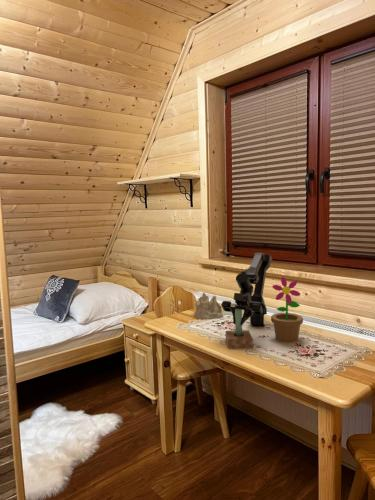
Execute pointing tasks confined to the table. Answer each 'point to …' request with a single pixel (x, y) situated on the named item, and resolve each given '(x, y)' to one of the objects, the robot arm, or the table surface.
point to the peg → (238, 322)
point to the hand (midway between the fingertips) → (237, 324)
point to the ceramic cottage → (208, 308)
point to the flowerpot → (286, 315)
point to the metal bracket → (231, 312)
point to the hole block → (239, 340)
